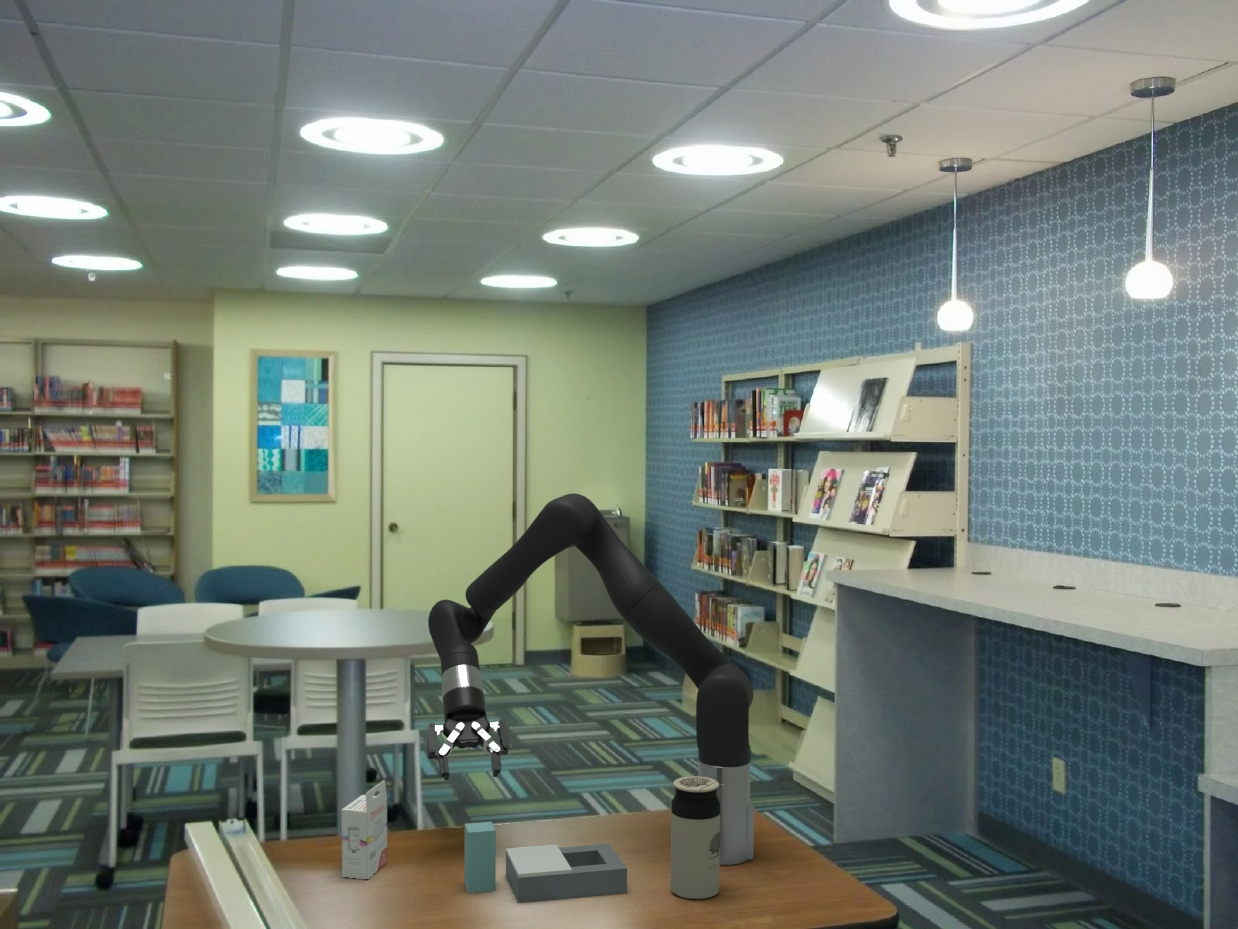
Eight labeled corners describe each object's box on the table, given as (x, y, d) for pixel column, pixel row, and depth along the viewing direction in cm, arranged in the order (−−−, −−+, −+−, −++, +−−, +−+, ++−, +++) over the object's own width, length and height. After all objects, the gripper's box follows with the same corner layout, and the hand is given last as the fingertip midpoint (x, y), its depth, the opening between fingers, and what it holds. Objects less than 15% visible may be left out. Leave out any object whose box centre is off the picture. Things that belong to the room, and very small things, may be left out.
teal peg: (491, 881, 201) (491, 821, 201) (495, 891, 197) (495, 830, 197) (464, 883, 200) (464, 823, 200) (467, 893, 196) (468, 832, 196)
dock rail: (608, 866, 208) (608, 840, 208) (627, 892, 197) (627, 864, 197) (505, 875, 204) (505, 848, 204) (518, 902, 192) (518, 874, 192)
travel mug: (660, 891, 197) (661, 782, 197) (691, 878, 203) (692, 772, 203) (698, 905, 192) (699, 793, 192) (728, 891, 198) (730, 782, 197)
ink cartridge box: (361, 860, 210) (361, 777, 210) (387, 862, 209) (388, 778, 209) (340, 878, 202) (340, 791, 201) (367, 881, 201) (368, 793, 200)
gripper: (425, 686, 215) (431, 768, 204) (504, 683, 218) (515, 763, 207) (422, 709, 220) (428, 790, 209) (499, 705, 223) (509, 784, 213)
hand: (471, 776), depth 208 cm, fingers open, 8 cm apart
